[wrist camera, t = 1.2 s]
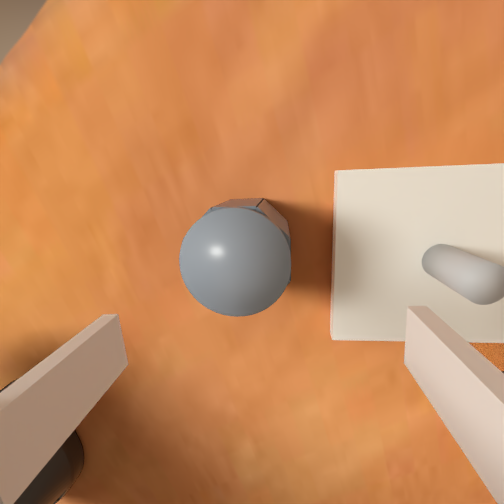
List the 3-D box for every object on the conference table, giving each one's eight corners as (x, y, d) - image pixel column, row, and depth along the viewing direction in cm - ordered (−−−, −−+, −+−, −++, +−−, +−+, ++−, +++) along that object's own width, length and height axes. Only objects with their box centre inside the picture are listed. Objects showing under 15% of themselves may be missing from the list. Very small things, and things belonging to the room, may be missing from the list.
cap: (213, 275, 29) (184, 315, 21) (207, 200, 28) (173, 209, 19) (288, 275, 29) (291, 317, 20) (287, 197, 27) (290, 206, 18)
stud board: (329, 332, 30) (345, 381, 22) (334, 170, 26) (355, 167, 19) (520, 335, 28) (605, 389, 21) (556, 161, 24) (676, 154, 17)
